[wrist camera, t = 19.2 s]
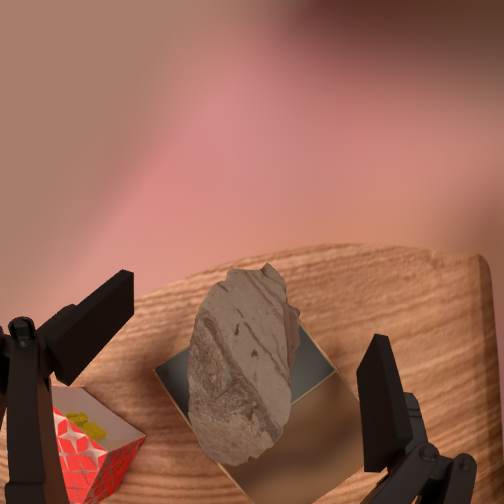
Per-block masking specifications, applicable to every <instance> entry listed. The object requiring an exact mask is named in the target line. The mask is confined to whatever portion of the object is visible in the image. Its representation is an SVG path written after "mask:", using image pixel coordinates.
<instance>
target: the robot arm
mask: <svg viewBox="0 0 504 504" xmlns="http://www.w3.org/2000/svg"><path fill="white" fill-rule="evenodd" d="M133 315H134V273H133V272H130V271H126V270H123V269H122V270H120V271H119V272H118V273H117V274H115V275H114V276H113V277H112V278H110V279H109V280H108V281H106V282H105V283H104V284H103V285H101V286H100V287H99V288H98V289H96V290H95V291H94V292H93V293H91V294H90V295H89V296H88V297H87V298H85V299H84V300H83V301H82V302H80V303H79V304H78V305H77V306H76V305H74V304H71V305H68V306H66V307H63V308H62V309H61V310H60V311H59V312H57V314H55V315H54V316H53V317H52V318H50V319H49V320H48V321H46V322H45V323H44V324H43V325H42V326H40V327H39V328H38V329H37V330H36V329H35V326H34V322H33V320H32V319H31V318H28V317H17V318H15V319H13V320H12V321H11V322H10V323H9V325H8V329H9V332H10V335H11V336H10V335H6V334H4V332H3V329H2V327H1V326H0V430H1V426H2V422H3V418H4V414H5V411H6V407H7V454H8V467H9V477H10V480H9V482H8V483H6V484H5V499H6V504H70V502H69V498H68V494H67V490H66V486H65V482H64V477H63V472H62V467H61V462H60V457H59V451H58V445H57V438H56V431H55V423H54V413H53V403H52V389H51V379H50V375H51V374H52V372H53V371H54V373H55V376H56V379H57V380H58V381H60V382H62V383H63V384H65V385H67V386H70V385H71V384H72V383H73V381H74V380H75V379H76V378H77V377H78V376H79V375H80V373H81V372H82V371H83V370H84V369H85V368H86V367H87V365H88V364H89V363H90V362H91V361H92V360H93V359H94V358H95V356H96V355H97V354H98V353H99V352H100V351H101V350H102V349H103V347H104V346H105V345H106V344H107V343H108V342H109V341H110V340H111V339H112V338H113V336H114V335H115V334H116V333H117V332H118V331H119V330H120V329H121V328H122V327H123V326H124V324H125V323H126V322H127V321H128V320H129V319H130V318H131V317H132V316H133ZM356 375H357V384H358V393H359V403H360V414H361V426H362V439H363V455H364V472H376V473H380V472H381V471H382V470H383V469H384V468H386V467H387V471H388V474H387V475H385V476H384V477H383V478H382V479H381V480H380V481H379V482H378V483H377V486H376V487H375V488H374V489H373V490H372V491H371V492H370V493H369V494H368V495H367V496H366V497H365V499H364V500H363V501H362V502H361V503H360V504H411V503H412V502H413V500H414V499H415V498H416V496H417V495H418V497H417V500H416V503H415V504H470V503H471V498H472V493H473V488H474V483H475V477H476V471H477V464H476V461H475V459H474V458H473V457H472V456H470V455H469V454H466V453H462V454H459V455H458V456H456V457H455V458H454V459H452V458H448V457H445V456H441V455H439V451H438V449H437V448H436V447H435V446H434V445H433V444H431V443H429V442H428V439H427V434H426V430H425V426H424V422H423V418H422V414H421V411H420V407H419V403H418V401H417V399H416V398H415V396H414V395H413V394H412V393H407V392H403V388H402V384H401V380H400V377H399V373H398V369H397V366H396V362H395V359H394V355H393V352H392V348H391V345H390V342H389V338H388V336H385V335H380V334H374V337H373V339H372V341H371V343H370V345H369V347H368V349H367V351H366V353H365V355H364V357H363V359H362V361H361V363H360V365H359V367H358V369H357V371H356Z"/></svg>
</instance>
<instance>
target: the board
mask: <svg viewBox="0 0 504 504" xmlns="http://www.w3.org/2000/svg"><path fill="white" fill-rule="evenodd" d="M298 321H299V330H298V331H299V335H300V345H299V346H298V347H297V349H296V352H295V361H294V364H293V367H292V369H291V372H290V380H291V385H290V387H291V394H292V397H291V401H290V403H291V410H290V414H289V418H288V421H287V423H286V424H285V425H284V426H283V434H282V437H281V438H280V439H279V441H278V442H277V443H276V444H275V445H274V446H273V447H272V448H268V449H266V450H265V451H264V452H263V453H262V454H260V456H259V457H258V458H252V460H251V461H250V462H248V463H247V462H245V463H243V464H242V465H239V466H231V465H228V464H220V463H217V462H216V463H217V464H218V465H219V466H220V467H221V469H222V470H223V471H224V472H225V474H226V475H227V476H228V477H229V478H230V480H231V481H232V482H233V483H234V484H235V485H236V486H237V488H238V489H239V490H240V491H241V492H242V493H243V494H244V496H245V497H246V498H247V499H248V500H249V501H250V502H251V503H252V504H311V503H313V502H314V501H316V500H317V499H319V498H320V497H322V496H323V495H325V494H326V493H328V492H329V491H331V490H332V489H334V488H335V487H336V486H338V485H339V484H341V483H342V482H343V481H345V480H346V479H347V478H349V477H350V476H351V475H353V474H354V473H355V472H357V471H358V470H359V469H360V468H362V467H363V466H364V455H363V439H362V426H361V414H360V403H359V396H358V395H357V394H356V392H355V391H354V390H353V389H352V387H351V386H350V385H349V383H348V382H347V381H346V379H345V378H344V377H343V376H342V374H341V373H340V372H339V370H338V369H337V368H336V367H335V365H334V364H333V363H332V361H331V360H330V359H329V357H328V356H327V355H326V354H325V352H324V351H323V350H322V348H321V347H320V346H319V345H318V343H317V342H316V341H315V339H314V338H313V337H312V335H311V334H310V333H309V332H308V330H307V329H306V328H305V326H304V325H303V324H302V322H301V321H300V320H299V319H298ZM189 349H190V346H188V347H187V348H185V349H184V350H182V351H180V352H179V353H177V354H176V355H174V356H173V357H171V358H169V359H168V360H166V361H165V362H163V363H162V364H160V365H158V366H157V367H155V368H154V369H152V371H153V373H154V374H155V376H156V377H157V379H158V381H159V382H160V384H161V385H162V387H163V389H164V390H165V392H166V393H167V395H168V396H169V398H170V399H171V401H172V402H173V404H174V405H175V407H176V408H177V410H178V411H179V413H180V414H181V416H182V417H183V418H184V420H185V421H186V423H187V424H188V426H189V427H190V428H191V430H192V431H193V428H192V424H191V422H190V420H189V416H188V412H189V406H188V404H189V399H190V392H189V381H188V377H187V372H188V357H189ZM193 432H194V431H193ZM194 434H195V433H194Z"/></svg>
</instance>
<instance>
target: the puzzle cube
mask: <svg viewBox="0 0 504 504" xmlns="http://www.w3.org/2000/svg"><path fill="white" fill-rule="evenodd" d="M51 389H52V403H53V413H54V423H55V431H56V438H57V445H58V451H59V457H60V462H61V467H62V472H63V477H64V482H65V486H66V490H67V494H68V498H69V502H70V504H98V503H100V502H101V501H103V500H104V499H106V498H107V497H109V496H110V495H112V494H113V493H115V491H116V489H117V487H118V486H119V484H120V482H121V480H122V478H123V476H124V475H125V473H126V471H127V469H128V467H129V466H130V464H131V462H132V460H133V458H134V457H135V455H136V453H137V451H138V450H139V448H140V446H141V444H142V443H143V441H144V439H145V437H146V435H145V434H143V433H142V432H140V431H139V430H137V429H136V428H134V427H133V426H131V425H130V424H128V423H127V422H126V421H124V420H123V419H121V418H120V417H118V416H117V415H116V414H114V413H113V412H112V411H110V410H109V409H108V408H106V407H105V406H104V405H102V404H101V403H100V402H99V401H97V400H96V399H95V398H93V397H92V396H91V395H90V394H88V393H87V392H86V391H85V390H84V389H82V388H80V387H58V386H51ZM6 453H7V451H6ZM7 455H8V454H7Z"/></svg>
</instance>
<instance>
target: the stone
mask: <svg viewBox="0 0 504 504" xmlns="http://www.w3.org/2000/svg"><path fill="white" fill-rule="evenodd" d="M286 287H287V286H286V284H285V281H284V279H283V278H282V277H281V276H280V274H279V273H278V272H277V271H276V270H275V269H274V268H273V267H272V266H271V265H270V264H268V263H266V264H265V265H264V267H263V268H262V269H260V270H244V269H231V270H229V271H228V272H227V279H226V281H225V282H223V281H220V282H218V283H216V284H214V285H213V286H212V288H211V290H210V291H209V293H208V295H207V297H206V298H205V299H204V300H203V302H202V304H201V306H200V307H199V311H198V314H197V316H196V319H195V326H194V331H193V335H192V337H191V340H190V349H189V357H188V372H187V377H188V381H189V392H190V399H189V404H188V406H189V412H188V416H189V420H190V422H191V424H192V428H193V431H194V433H195V436H196V438H197V440H198V443H199V446H200V448H201V449H202V450H203V452H204V453H205V454H206V456H207V457H208V458H209V459H210V460H212V461H213V462H217V463H220V464H228V465H231V466H239V465H242V464H243V463H245V462H247V463H248V462H250V461H251V460H252V458H258V457H259V456H260V454H262V453H263V452H264V451H265V450H266V449H268V448H272V447H273V446H274V445H275V444H276V443H277V442H278V441H279V439H280V438H281V437H282V434H283V426H284V425H285V424H286V423H287V421H288V418H289V414H290V410H291V403H290V401H291V397H292V394H291V387H290V385H291V380H290V372H291V369H292V367H293V364H294V361H295V352H296V349H297V347H298V346H299V345H300V335H299V331H298V330H299V321H298V318H299V315H300V312H299V310H298V309H297V308H294V307H292V306H291V305H289V304H288V302H287V297H286Z"/></svg>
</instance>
